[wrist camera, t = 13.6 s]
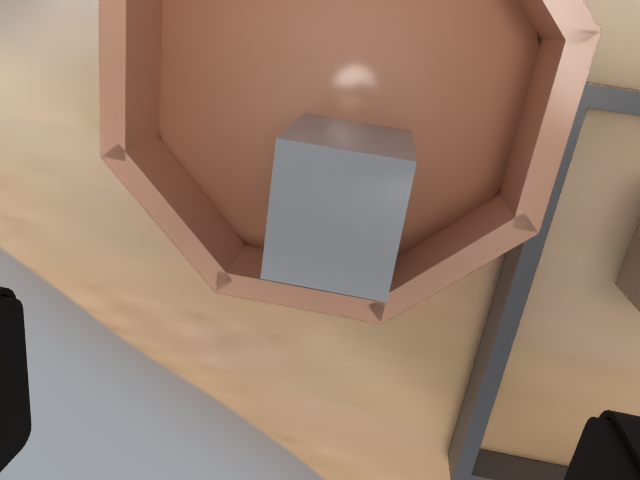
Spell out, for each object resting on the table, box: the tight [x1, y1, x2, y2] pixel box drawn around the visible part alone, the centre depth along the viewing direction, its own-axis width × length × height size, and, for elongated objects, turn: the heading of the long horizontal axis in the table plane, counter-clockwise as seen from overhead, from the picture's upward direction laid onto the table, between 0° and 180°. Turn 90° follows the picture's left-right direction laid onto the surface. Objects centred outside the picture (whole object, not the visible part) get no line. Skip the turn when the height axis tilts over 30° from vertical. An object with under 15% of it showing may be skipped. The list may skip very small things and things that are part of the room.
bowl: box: [99, 0, 601, 324], centre depth 21 cm, size 17×17×4 cm
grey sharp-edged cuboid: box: [260, 113, 417, 302], centre depth 21 cm, size 4×5×6 cm
